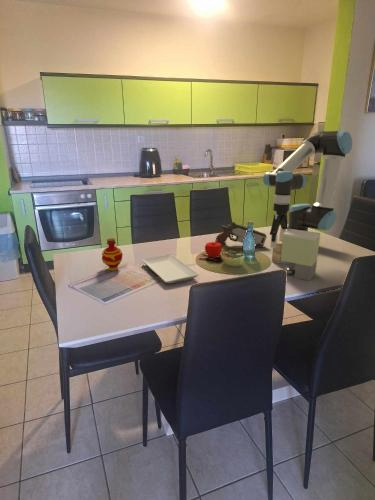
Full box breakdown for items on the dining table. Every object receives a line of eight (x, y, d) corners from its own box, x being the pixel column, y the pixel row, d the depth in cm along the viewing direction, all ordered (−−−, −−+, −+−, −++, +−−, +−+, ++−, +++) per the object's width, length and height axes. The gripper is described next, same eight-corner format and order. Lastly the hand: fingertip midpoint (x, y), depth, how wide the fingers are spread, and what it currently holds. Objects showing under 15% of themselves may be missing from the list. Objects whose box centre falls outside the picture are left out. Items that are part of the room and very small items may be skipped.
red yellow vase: (127, 266, 172) (125, 237, 167) (117, 273, 163) (114, 243, 158) (109, 263, 175) (107, 235, 170) (98, 271, 166) (95, 241, 161)
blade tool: (274, 259, 181) (275, 241, 178) (303, 264, 173) (305, 245, 170) (271, 261, 178) (273, 243, 174) (300, 267, 170) (303, 248, 167)
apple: (202, 258, 182) (202, 244, 180) (208, 253, 190) (208, 240, 187) (218, 260, 179) (219, 246, 176) (223, 255, 187) (224, 241, 184)
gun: (258, 258, 201) (267, 234, 195) (214, 243, 203) (222, 219, 198) (258, 255, 205) (267, 232, 200) (215, 240, 208) (223, 217, 202)
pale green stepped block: (284, 267, 169) (288, 228, 163) (315, 273, 162) (320, 233, 155) (277, 274, 161) (281, 233, 155) (309, 280, 154) (315, 238, 147)
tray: (165, 288, 148) (165, 281, 147) (141, 265, 174) (141, 258, 173) (199, 281, 155) (199, 274, 154) (171, 259, 181) (171, 253, 180)
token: (285, 270, 167) (286, 265, 166) (297, 272, 164) (297, 268, 163) (282, 274, 162) (282, 269, 161) (293, 276, 159) (294, 271, 158)
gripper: (282, 198, 180) (278, 237, 187) (265, 206, 160) (261, 249, 167) (296, 200, 176) (292, 239, 183) (281, 207, 156) (276, 251, 163)
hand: (277, 244), depth 175 cm, fingers open, 13 cm apart
